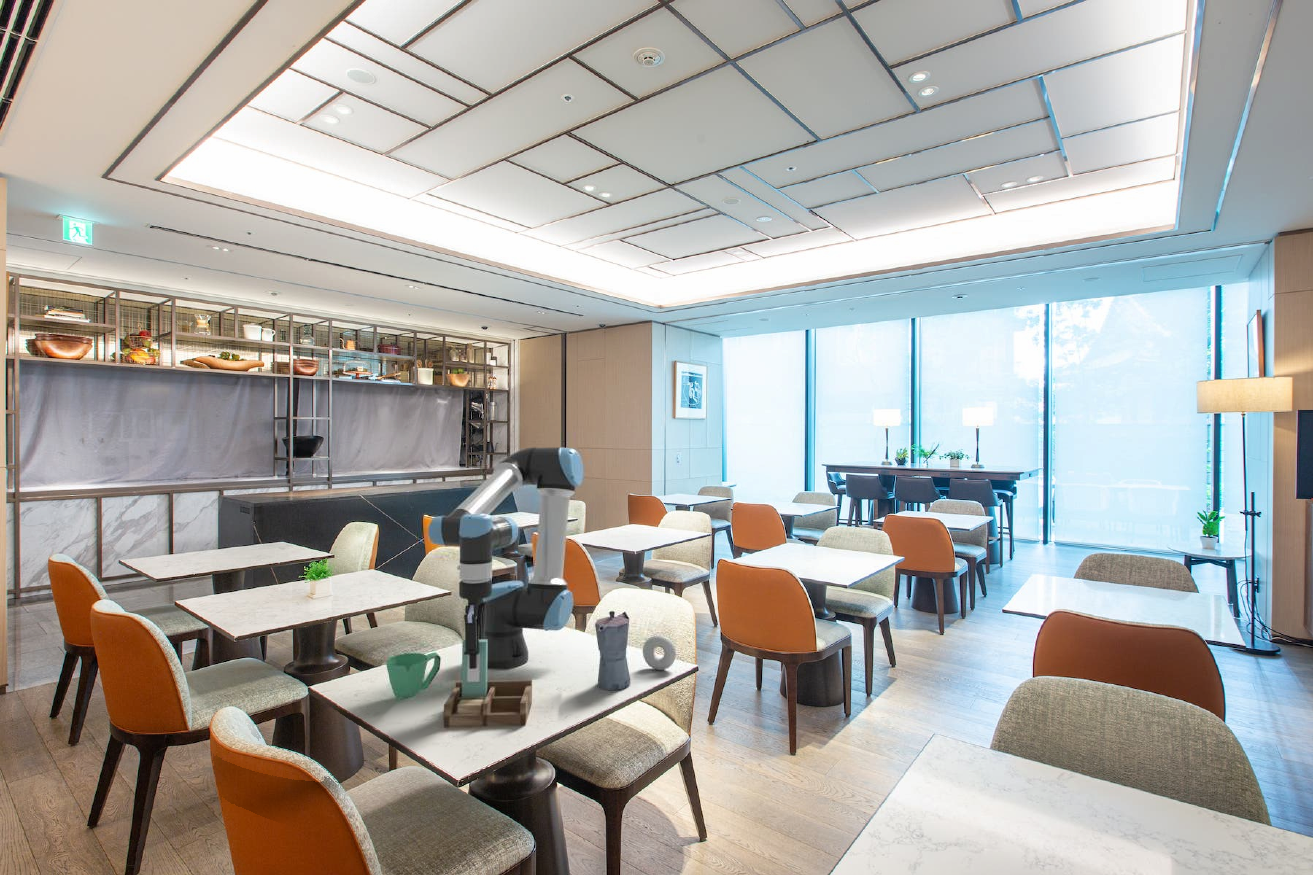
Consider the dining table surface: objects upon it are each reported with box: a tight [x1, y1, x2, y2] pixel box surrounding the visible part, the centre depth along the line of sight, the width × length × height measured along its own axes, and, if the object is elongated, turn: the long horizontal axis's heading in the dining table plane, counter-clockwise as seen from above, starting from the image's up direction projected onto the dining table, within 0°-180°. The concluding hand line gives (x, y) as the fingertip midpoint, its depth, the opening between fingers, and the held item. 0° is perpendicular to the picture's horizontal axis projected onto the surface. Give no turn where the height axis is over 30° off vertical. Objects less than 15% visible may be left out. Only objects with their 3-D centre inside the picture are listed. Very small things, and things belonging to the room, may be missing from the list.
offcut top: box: [458, 700, 484, 714], centre depth 147 cm, size 3×5×2 cm, turn 94°
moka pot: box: [594, 610, 631, 691], centre depth 174 cm, size 10×15×20 cm, turn 158°
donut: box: [642, 634, 677, 671], centre depth 185 cm, size 10×4×10 cm, turn 71°
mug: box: [385, 652, 442, 702], centre depth 165 cm, size 15×10×10 cm
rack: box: [443, 678, 533, 729], centre depth 150 cm, size 12×18×8 cm, turn 94°
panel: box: [461, 639, 488, 697], centre depth 152 cm, size 2×6×16 cm, turn 94°
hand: (474, 678), depth 152 cm, fingers closed on panel, 2 cm apart
